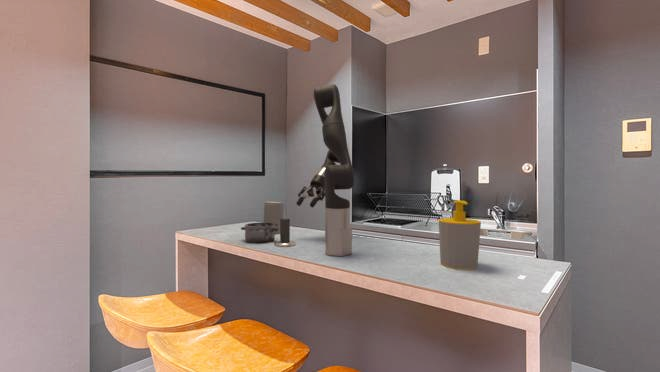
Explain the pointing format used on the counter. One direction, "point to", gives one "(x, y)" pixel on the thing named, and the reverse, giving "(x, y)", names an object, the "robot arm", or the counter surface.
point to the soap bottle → (459, 240)
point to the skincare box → (273, 213)
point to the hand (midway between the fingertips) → (304, 205)
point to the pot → (259, 232)
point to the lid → (284, 234)
